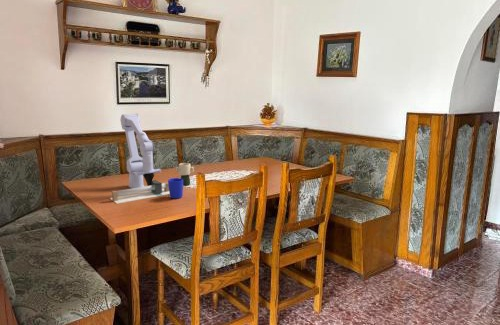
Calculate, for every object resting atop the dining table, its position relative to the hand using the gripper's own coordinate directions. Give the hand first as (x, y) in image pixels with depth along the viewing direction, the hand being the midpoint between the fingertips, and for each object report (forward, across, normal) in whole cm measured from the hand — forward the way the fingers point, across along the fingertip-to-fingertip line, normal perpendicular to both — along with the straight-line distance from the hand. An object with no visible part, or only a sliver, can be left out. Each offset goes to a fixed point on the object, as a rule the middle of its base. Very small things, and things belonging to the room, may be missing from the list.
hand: (149, 186), depth 228 cm
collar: (+4, +3, -3) cm, 6 cm away
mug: (+4, +9, -15) cm, 18 cm away
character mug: (+4, +25, +5) cm, 26 cm away
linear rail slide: (+4, -6, -3) cm, 8 cm away
